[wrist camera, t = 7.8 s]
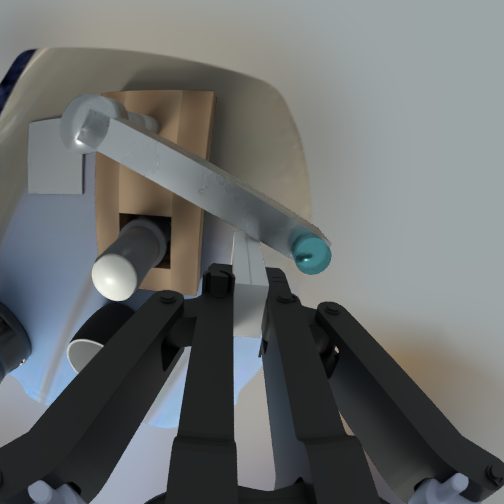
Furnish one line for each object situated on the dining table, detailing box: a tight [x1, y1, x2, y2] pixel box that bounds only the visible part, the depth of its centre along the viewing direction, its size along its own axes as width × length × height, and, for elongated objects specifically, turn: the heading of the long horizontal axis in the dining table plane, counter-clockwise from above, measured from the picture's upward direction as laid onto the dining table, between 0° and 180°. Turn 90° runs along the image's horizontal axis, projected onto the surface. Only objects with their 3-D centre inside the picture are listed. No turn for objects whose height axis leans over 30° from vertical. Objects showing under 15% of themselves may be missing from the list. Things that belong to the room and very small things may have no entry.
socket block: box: [95, 90, 217, 295], centre depth 24 cm, size 12×22×14 cm, turn 173°
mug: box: [67, 303, 135, 374], centre depth 33 cm, size 12×9×10 cm
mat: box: [28, 118, 84, 195], centre depth 28 cm, size 10×10×1 cm
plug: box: [92, 215, 171, 301], centre depth 27 cm, size 5×5×13 cm
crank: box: [60, 94, 331, 275], centre depth 15 cm, size 18×4×4 cm, turn 58°
